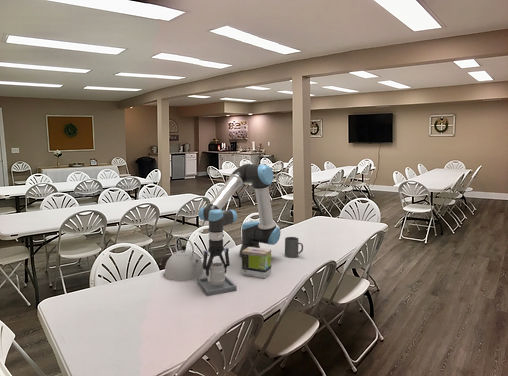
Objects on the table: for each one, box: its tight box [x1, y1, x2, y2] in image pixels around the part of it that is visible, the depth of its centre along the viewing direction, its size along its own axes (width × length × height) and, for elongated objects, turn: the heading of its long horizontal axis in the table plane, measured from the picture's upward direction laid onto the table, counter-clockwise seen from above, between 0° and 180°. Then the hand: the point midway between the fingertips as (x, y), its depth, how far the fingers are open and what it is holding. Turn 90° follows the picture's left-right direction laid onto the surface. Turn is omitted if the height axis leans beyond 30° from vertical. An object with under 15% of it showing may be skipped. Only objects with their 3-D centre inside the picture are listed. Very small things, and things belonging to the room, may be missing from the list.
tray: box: [196, 275, 238, 297], centre depth 206 cm, size 18×16×2 cm
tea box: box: [241, 247, 272, 279], centre depth 225 cm, size 15×10×15 cm, turn 65°
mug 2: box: [284, 236, 304, 259], centre depth 257 cm, size 14×9×12 cm
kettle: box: [164, 235, 205, 282], centre depth 223 cm, size 25×23×22 cm
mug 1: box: [209, 260, 225, 285], centre depth 205 cm, size 8×12×12 cm, turn 44°
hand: (216, 280), depth 206 cm, fingers closed on mug 1, 7 cm apart
